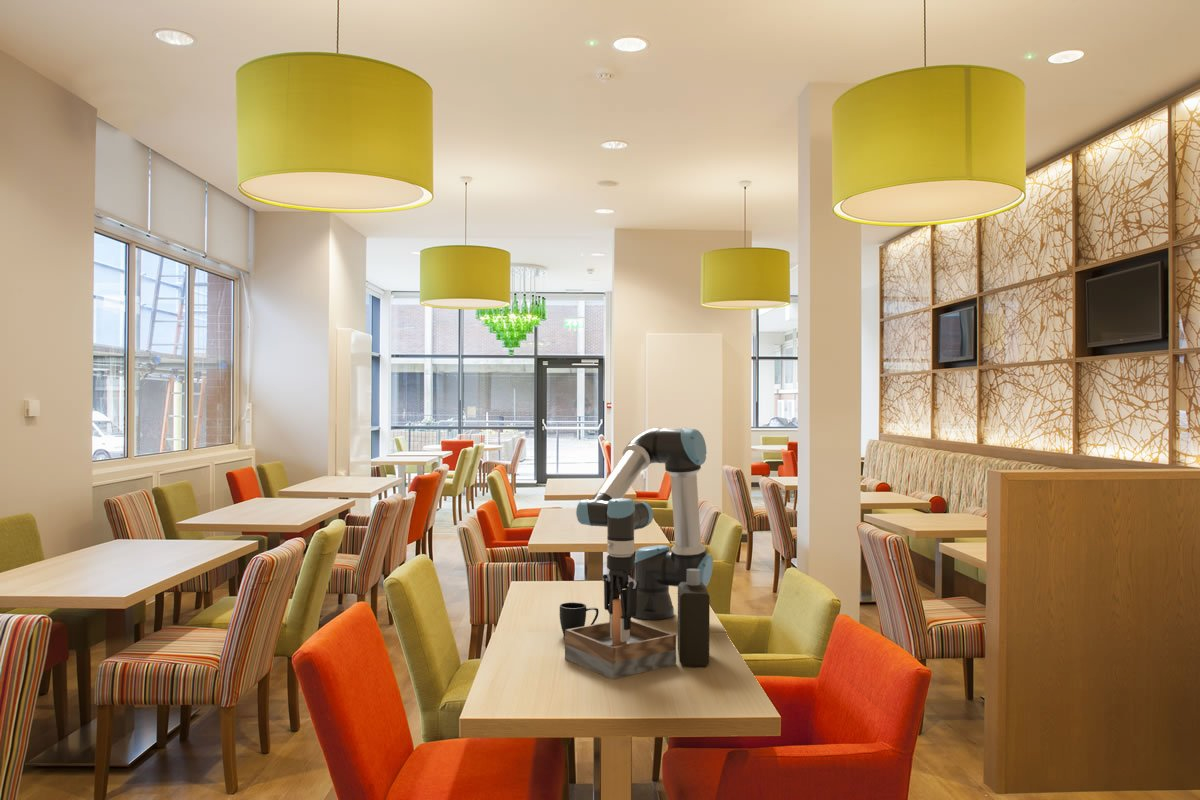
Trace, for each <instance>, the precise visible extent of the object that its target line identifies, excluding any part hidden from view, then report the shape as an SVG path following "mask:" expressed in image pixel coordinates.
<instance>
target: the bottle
mask: <svg viewBox="0 0 1200 800" xmlns="http://www.w3.org/2000/svg"><path fill="white" fill-rule="evenodd" d="M710 602H711V601H710V595H709V592H708V589H707V586H705V585H704V584H703V583H702V582H700V569H691V568H690V569H687V582H681V583H680V584H679V585H678V587H677V653H678V659H679V663H680V664H681V666H682V667H683V668H684V667H685V668H707V666H708V665H709V664H710V614H711V613H710V612H711V611H710V605H711V603H710Z"/></svg>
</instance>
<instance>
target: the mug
mask: <svg viewBox="0 0 1200 800" xmlns="http://www.w3.org/2000/svg"><path fill="white" fill-rule="evenodd" d="M592 610H593V611H595V615H594V618H593V620H592V622H591V623H590V625H593V624H595V622H596V621H597V619H598V617H599V612H600V611H599V608H598V607H587V604H585V603H582V602H573V601H572V602H570V601H569V602H565V603H561V604H559V622H560V627H561V631H562V634H563V638H565V630H566V629H572V628H577V627H582V626H586V620H587V612H588V611H592Z"/></svg>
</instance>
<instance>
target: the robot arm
mask: <svg viewBox="0 0 1200 800" xmlns="http://www.w3.org/2000/svg"><path fill="white" fill-rule="evenodd" d="M706 460H707V445H706V441H705V438H704V435H703V434H702V432H700V430H698V429H695V428H687V427H652V428H649V429H647V430H645V431H643V432H641V433H640V434H638V435H636V436H635V437H633V438H632V440H630V441H629V443H627V445H626V446H625V447H624V448H623V451H622V457H621V458H620V460H619V461H618V462H617V464H616V465H615V466H614V468H613V469H612V471H611V472H610V473H609V475H607V478H606V479H604V481H603V483H602V484H601V486H600V487H599V488H598V489H597V492H595V494H594V495H593V497H592V498H591V499H589V498H587V499H582V500H579V502H578V503H577V505H576V506H577V507H576V511H575V515H576V518H577V522H578V523H579V524H581V525H585V526H591V527H605V528H607V534H606V535H607V536H606V537H607V539H606V540H607V543H606V544H607V550H606V551H607V554H608V555H607V557H606V568H607V569H608V570H609V572H608V573H606V574H602V581H603V596H604V597H603V598H604V599H603V603H604V604H603V606H604V610H605V611H608V613H609V621H610V638H612V629H613V599H621V607H622V615H623V616H621V620H620V642H625V641H630V628H631V620H632V619H631V618H636V619H641V620H653V621H654V620H665V619H666V620H667V619H670V618H672V617H674V615H675V613H674V612H675V609H674V606H673V601H672V598H671V594H670V587H676V588H678V585H679V584H680V583H681V582H687V569H690V568H691V569H700V582H702V583H703V584H704V585H705V586H706V587H707V586H708V585H709V582H710V580H711V578H712V574H713V569H714V558H713V556H712V554H710V553H707V549H706V545H704V543H702V541H701V540H702V539H701V523H700V521H701V520H700V508H699V506H700V505H699V494H698V493H699V491H698V477H697V474H698V472H699V471H701V468H702V467H701V466H702V465H704V463H705V462H706ZM651 464H664V466H665V468H664V469H665V471H666V473H667V474H668V475H670V488H671V490H670V491H671V502H672V504H671V505H672V517H673V518H672V519H673V531H674V532H673V533H674V544H673V546H672V547H671V548H670V546H669V545H665V544H663V545H662V544H658V545H649V546H643V547H640V548H638V549H636V551H635V531H637V530H640V529H644V528H645V527H647V526H649V525H650V524H651V523H652V522H653V520H654V511H653V508H652V506H651V505H650V504H649V503H647V502H645V501H634V500H633V499H632V498H625V495H626V494H627V492H628V490H629V489H630V488H631V486H632V485H633V483H634V482H635V481H636V479H637V477H638V476H639V475H640V473H641V471H643V470H645V469H647V468H648V467H649V466H650V465H651ZM634 554H635V556H634ZM633 569H634V578H633V575H632V571H633Z"/></svg>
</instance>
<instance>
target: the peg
mask: <svg viewBox="0 0 1200 800" xmlns="http://www.w3.org/2000/svg"><path fill="white" fill-rule="evenodd" d="M621 616H623V615H622V607H621V598H619V599H613V629H612V646H613V647H614V646H619V645H624V644H627V641H625V642H620V620H621Z"/></svg>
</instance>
